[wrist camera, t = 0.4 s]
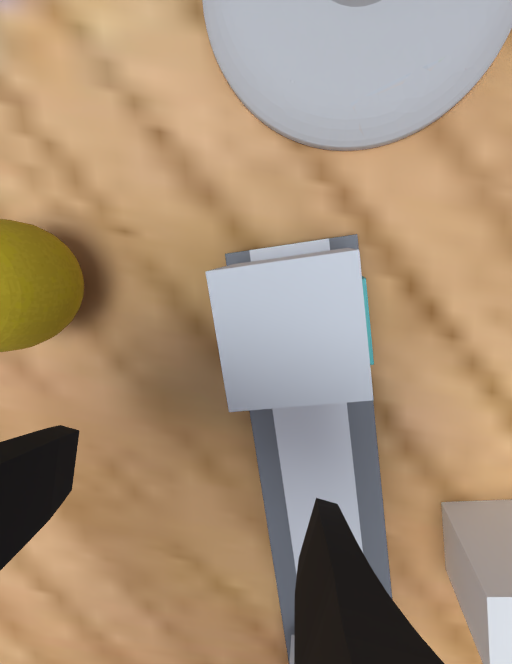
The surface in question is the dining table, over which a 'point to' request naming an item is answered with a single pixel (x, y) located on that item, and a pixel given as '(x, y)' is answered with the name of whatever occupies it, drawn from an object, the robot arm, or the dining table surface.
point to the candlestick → (354, 63)
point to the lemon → (35, 285)
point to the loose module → (482, 571)
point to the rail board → (304, 393)
